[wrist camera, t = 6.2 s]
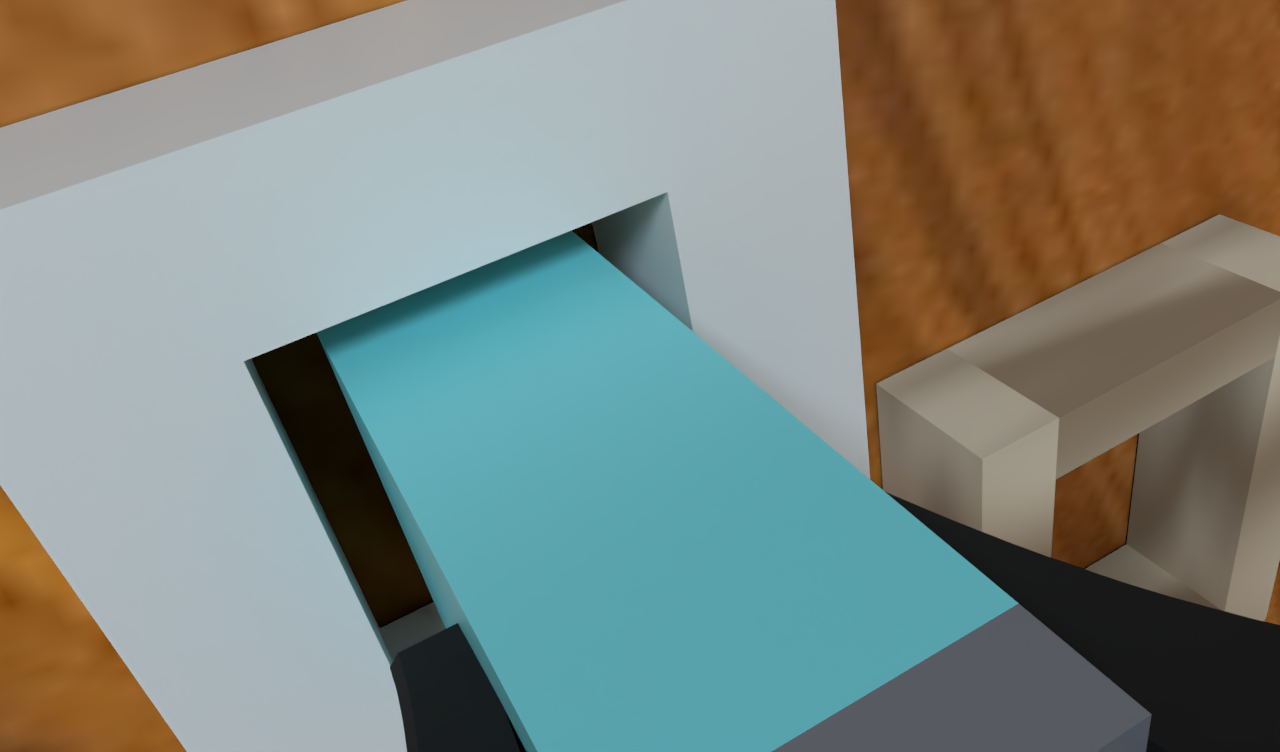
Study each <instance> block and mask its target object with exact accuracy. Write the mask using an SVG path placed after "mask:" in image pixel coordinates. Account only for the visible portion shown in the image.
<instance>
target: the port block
mask: <svg viewBox="0 0 1280 752" xmlns="http://www.w3.org/2000/svg"><path fill="white" fill-rule="evenodd" d="M591 222H592V225H593V230H594V234H595V238H596V243H597V247H598V251H599V254H600V255H602V256H603V257H604V258H605V259H606V260H608V261H609V262H610V263H611V264H612V265H614V266H615V267H616V268H617V269H618V270H620V271H621V272H622V273H623V274H624V275H626V276H627V277H628V278H629V279H630V280H632V281H633V282H634V283H635V284H636V285H638V286H639V287H640V288H641V289H642V290H644V291H645V292H646V293H647V294H648V295H650V296H651V297H652V298H653V299H654V300H656V301H657V302H658V303H659V304H660V305H662V306H663V307H664V308H665V309H666V310H667V311H669V312H670V313H671V314H672V315H673V316H675V317H676V318H677V319H678V320H679V321H681V322H682V323H683V324H684V325H685V326H687V327H688V328H689V329H690V330H691V331H693V332H694V333H695V334H696V335H697V336H699V337H700V338H701V339H702V340H703V341H705V342H706V343H707V344H708V345H709V346H711V347H712V348H713V349H714V350H715V351H717V352H718V353H719V354H720V355H721V356H723V357H724V358H725V359H726V360H727V361H729V362H730V363H731V364H732V365H733V366H735V367H736V368H737V369H738V370H739V371H741V372H742V373H743V374H744V375H745V376H747V377H748V378H749V379H750V380H751V381H753V382H754V383H755V384H756V385H757V386H759V387H760V388H761V389H762V390H763V391H765V392H766V393H767V394H768V395H769V396H771V397H772V398H773V399H774V400H775V401H777V402H778V403H779V404H780V405H781V406H783V407H784V408H785V409H786V410H787V411H789V412H790V413H791V414H792V415H793V416H795V417H796V418H797V419H798V420H799V421H801V422H802V423H803V424H804V425H805V426H807V427H808V428H809V429H810V430H811V431H813V432H814V433H815V434H816V435H817V436H819V437H820V438H821V439H822V440H823V441H825V442H826V443H827V444H828V445H829V446H831V447H832V448H833V449H834V450H835V451H837V452H838V453H839V454H840V455H841V456H843V457H844V458H845V459H846V460H847V461H849V462H850V463H851V464H852V465H853V466H854V467H856V468H857V469H858V470H859V471H860V472H862V473H863V474H864V475H865V476H866V477H868V478H869V479H870V468H869V454H868V441H867V427H866V413H865V400H864V386H863V372H862V359H861V345H860V331H859V318H858V304H857V291H856V277H855V263H854V250H853V236H852V222H851V209H850V195H849V181H848V168H847V154H846V141H845V127H844V113H843V100H842V86H841V72H840V59H839V45H838V31H837V18H836V4H835V0H407V1H403V2H400V3H397V4H394V5H391V6H388V7H384V8H381V9H378V10H375V11H372V12H368V13H365V14H362V15H359V16H356V17H352V18H349V19H346V20H343V21H340V22H336V23H333V24H330V25H327V26H324V27H320V28H317V29H314V30H311V31H308V32H305V33H301V34H298V35H295V36H292V37H289V38H285V39H282V40H279V41H276V42H273V43H269V44H266V45H263V46H260V47H257V48H253V49H250V50H247V51H244V52H241V53H238V54H234V55H231V56H228V57H225V58H222V59H218V60H215V61H212V62H209V63H206V64H202V65H199V66H196V67H193V68H190V69H186V70H183V71H180V72H177V73H174V74H171V75H167V76H164V77H161V78H158V79H155V80H151V81H148V82H145V83H142V84H139V85H135V86H132V87H129V88H126V89H123V90H119V91H116V92H113V93H110V94H107V95H103V96H100V97H97V98H94V99H91V100H88V101H84V102H81V103H78V104H75V105H72V106H68V107H65V108H62V109H59V110H56V111H52V112H49V113H46V114H43V115H40V116H36V117H33V118H30V119H27V120H24V121H21V122H17V123H14V124H11V125H8V126H5V127H1V128H0V485H1V487H2V488H3V490H4V491H5V492H6V494H7V495H8V497H9V498H10V500H11V501H12V502H13V504H14V505H15V507H16V508H17V510H18V511H19V512H20V514H21V515H22V517H23V518H24V520H25V521H26V522H27V524H28V525H29V527H30V528H31V530H32V531H33V532H34V534H35V535H36V537H37V538H38V540H39V541H40V543H41V544H42V545H43V547H44V548H45V550H46V551H47V553H48V554H49V555H50V557H51V558H52V560H53V561H54V563H55V564H56V565H57V567H58V568H59V570H60V571H61V573H62V574H63V575H64V577H65V578H66V580H67V581H68V583H69V584H70V585H71V587H72V588H73V590H74V591H75V593H76V594H77V595H78V597H79V598H80V600H81V601H82V603H83V604H84V605H85V607H86V608H87V610H88V611H89V613H90V614H91V615H92V617H93V618H94V620H95V621H96V623H97V624H98V625H99V627H100V628H101V630H102V631H103V633H104V634H105V635H106V637H107V638H108V640H109V641H110V643H111V644H112V645H113V647H114V648H115V650H116V651H117V653H118V654H119V655H120V657H121V658H122V660H123V661H124V663H125V664H126V665H127V667H128V668H129V670H130V671H131V673H132V674H133V675H134V677H135V678H136V680H137V681H138V683H139V684H140V685H141V687H142V688H143V690H144V691H145V693H146V694H147V695H148V697H149V698H150V700H151V701H152V703H153V704H154V705H155V707H156V708H157V710H158V711H159V713H160V714H161V715H162V717H163V718H164V720H165V721H166V723H167V724H168V725H169V727H170V728H171V730H172V731H173V733H174V734H175V735H176V737H177V738H178V740H179V741H180V743H181V744H182V745H183V747H184V748H185V750H186V751H187V752H407V747H406V740H405V732H404V726H403V720H402V714H401V709H400V704H399V699H398V694H397V690H396V686H395V683H394V680H393V677H392V673H391V670H390V666H391V664H392V662H393V661H394V659H395V657H396V655H397V653H399V652H401V651H403V650H405V649H407V648H409V647H411V646H413V645H415V644H417V643H419V642H421V641H423V640H425V639H426V638H428V637H430V636H432V635H434V634H436V633H438V632H440V631H442V630H444V629H446V627H445V625H444V623H443V621H442V619H441V617H440V615H439V613H438V610H437V608H436V606H435V603H434V602H432V603H430V604H428V605H426V606H424V607H422V608H420V609H418V610H416V611H414V612H412V613H410V614H408V615H406V616H404V617H402V618H400V619H398V620H396V621H394V622H392V623H390V624H388V625H386V626H384V627H382V628H379V626H378V624H377V622H376V620H375V617H374V615H373V613H372V611H371V609H370V607H369V605H368V603H367V601H366V599H365V596H364V594H363V592H362V590H361V588H360V586H359V584H358V582H357V580H356V578H355V575H354V573H353V571H352V569H351V567H350V565H349V563H348V561H347V559H346V557H345V554H344V552H343V550H342V548H341V546H340V544H339V542H338V540H337V538H336V536H335V533H334V531H333V529H332V527H331V525H330V523H329V521H328V519H327V517H326V514H325V512H324V510H323V508H322V506H321V504H320V502H319V500H318V498H317V496H316V493H315V491H314V489H313V487H312V485H311V483H310V481H309V479H308V477H307V475H306V472H305V470H304V468H303V466H302V464H301V462H300V460H299V458H298V456H297V454H296V451H295V449H294V447H293V445H292V443H291V441H290V439H289V437H288V435H287V432H286V430H285V428H284V426H283V424H282V422H281V420H280V418H279V416H278V414H277V411H276V409H275V407H274V405H273V403H272V401H271V399H270V397H269V395H268V393H267V390H266V388H265V386H264V384H263V382H262V380H261V378H260V376H259V374H258V372H257V369H256V367H255V365H254V363H253V361H252V359H251V358H254V357H256V356H259V355H261V354H264V353H266V352H269V351H271V350H274V349H276V348H279V347H281V346H284V345H286V344H289V343H291V342H294V341H296V340H299V339H301V338H304V337H306V336H309V335H311V334H314V333H316V332H319V331H321V330H324V329H326V328H329V327H331V326H334V325H336V324H339V323H341V322H344V321H346V320H349V319H351V318H354V317H356V316H359V315H361V314H364V313H366V312H369V311H371V310H374V309H376V308H379V307H381V306H384V305H386V304H389V303H391V302H394V301H396V300H399V299H401V298H404V297H406V296H409V295H411V294H414V293H416V292H419V291H421V290H424V289H426V288H429V287H431V286H434V285H436V284H439V283H441V282H444V281H446V280H449V279H451V278H454V277H456V276H459V275H461V274H464V273H466V272H469V271H471V270H474V269H476V268H479V267H481V266H484V265H486V264H489V263H491V262H494V261H496V260H499V259H501V258H504V257H506V256H509V255H511V254H514V253H516V252H519V251H521V250H524V249H526V248H529V247H531V246H534V245H536V244H539V243H541V242H544V241H546V240H549V239H551V238H554V237H556V236H559V235H561V234H564V233H566V232H569V231H571V230H574V229H576V228H579V227H581V226H584V225H586V224H589V223H591Z"/></svg>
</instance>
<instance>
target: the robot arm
mask: <svg viewBox="0 0 1280 752" xmlns="http://www.w3.org/2000/svg"><path fill="white" fill-rule="evenodd" d="M884 492H885V491H884ZM886 493H887V492H886ZM887 494H888V495H889V496H890V497H892V498H893V499H894V500H895V501H896V502H898V503H899V504H900V505H901V506H902V507H904V508H905V509H906V510H907V511H908V512H910V513H911V514H912V515H913V516H914V517H916V518H917V519H918V520H919V521H920V522H922V523H923V524H924V525H925V526H926V527H928V528H929V529H930V530H931V531H932V532H934V533H935V534H936V535H937V536H938V537H940V538H941V539H942V540H943V541H944V542H946V543H947V544H948V545H949V546H950V547H952V548H953V549H954V550H955V551H956V552H958V553H959V554H960V555H961V556H962V557H964V558H965V559H966V560H967V561H968V562H970V563H971V564H972V565H973V566H974V567H976V568H977V569H978V570H979V571H980V572H982V573H983V574H984V575H985V576H986V577H988V578H989V579H990V580H991V581H992V582H994V583H995V584H996V585H997V586H998V587H1000V588H1001V589H1002V590H1003V591H1004V592H1006V593H1007V594H1008V595H1009V596H1010V597H1012V598H1013V599H1014V600H1015V601H1016V602H1018V603H1019V604H1020V605H1021V606H1022V607H1024V608H1025V609H1026V610H1027V611H1028V612H1030V613H1031V614H1032V615H1033V616H1034V617H1035V618H1037V619H1038V620H1039V621H1040V622H1041V623H1043V624H1044V625H1045V626H1046V627H1047V628H1049V629H1050V630H1051V631H1052V632H1053V633H1055V634H1056V635H1057V636H1058V637H1059V638H1061V639H1062V640H1063V641H1064V642H1065V643H1067V644H1068V645H1069V646H1070V647H1071V648H1073V649H1074V650H1075V651H1076V652H1077V653H1079V654H1080V655H1081V656H1082V657H1083V658H1085V659H1086V660H1087V661H1088V662H1089V663H1091V664H1092V665H1093V666H1094V667H1095V668H1097V669H1098V670H1099V671H1100V672H1101V673H1103V674H1104V675H1105V676H1106V677H1107V678H1109V679H1110V680H1111V681H1112V682H1113V683H1115V684H1116V685H1117V686H1118V687H1119V688H1121V689H1122V690H1123V691H1124V692H1125V693H1127V694H1128V695H1129V696H1130V697H1131V698H1133V699H1134V700H1135V701H1136V702H1137V703H1139V704H1140V705H1141V706H1142V707H1143V708H1145V709H1146V710H1147V711H1148V712H1149V713H1151V714H1152V715H1151V721H1150V728H1149V735H1148V742H1147V748H1146V752H1280V625H1276V624H1272V623H1268V622H1264V621H1260V620H1256V619H1252V618H1248V617H1244V616H1240V615H1237V614H1233V613H1229V612H1226V611H1222V610H1218V609H1215V608H1211V607H1207V606H1204V605H1200V604H1196V603H1192V602H1189V601H1185V600H1181V599H1178V598H1174V597H1170V596H1167V595H1163V594H1160V593H1157V592H1154V591H1150V590H1147V589H1144V588H1140V587H1137V586H1134V585H1131V584H1127V583H1124V582H1121V581H1118V580H1115V579H1112V578H1109V577H1106V576H1103V575H1100V574H1097V573H1094V572H1092V571H1089V570H1086V569H1083V568H1080V567H1077V566H1074V565H1071V564H1068V563H1065V562H1062V561H1059V560H1056V559H1053V558H1050V557H1048V556H1045V555H1042V554H1039V553H1037V552H1034V551H1031V550H1029V549H1026V548H1023V547H1020V546H1018V545H1015V544H1012V543H1010V542H1007V541H1005V540H1002V539H999V538H997V537H994V536H992V535H989V534H987V533H984V532H982V531H979V530H977V529H974V528H971V527H969V526H966V525H964V524H961V523H959V522H956V521H954V520H951V519H949V518H947V517H944V516H942V515H939V514H937V513H934V512H932V511H930V510H927V509H925V508H922V507H920V506H918V505H915V504H913V503H911V502H908V501H906V500H904V499H901V498H899V497H897V496H894V495H892V494H890V493H887ZM390 670H391V673H392V677H393V680H394V683H395V686H396V690H397V694H398V699H399V704H400V709H401V714H402V720H403V726H404V732H405V740H406V747H407V752H521V749H520V747H519V744H518V742H517V739H516V737H515V734H514V732H513V730H512V727H511V725H510V722H509V720H508V717H507V715H506V712H505V710H504V707H503V705H502V703H501V701H500V699H499V698H498V696H497V694H496V692H495V690H494V688H493V686H492V685H491V683H490V681H489V679H488V677H487V675H486V673H485V672H484V670H483V668H482V666H481V664H480V662H479V661H478V659H477V657H476V655H475V653H474V651H473V649H472V648H471V646H470V644H469V642H468V640H467V639H466V637H465V635H464V633H463V631H462V630H461V628H460V626H459V624H458V623H456V624H454V625H452V626H450V627H448V628H446V629H444V630H442V631H440V632H438V633H436V634H434V635H432V636H430V637H428V638H426V639H425V640H423V641H421V642H419V643H417V644H415V645H413V646H411V647H409V648H407V649H405V650H403V651H401V652H399V653H397V655H396V657H395V659H394V661H393V662H392V664H391V666H390Z"/></svg>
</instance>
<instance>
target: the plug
mask: <svg viewBox="0 0 1280 752" xmlns="http://www.w3.org/2000/svg"><path fill="white" fill-rule="evenodd" d="M316 333H317V335H318V337H319V340H320V342H321V344H322V346H323V349H324V351H325V353H326V356H327V358H328V360H329V363H330V365H331V367H332V369H333V372H334V374H335V376H336V379H337V381H338V383H339V385H340V388H341V390H342V392H343V395H344V397H345V399H346V402H347V404H348V406H349V408H350V411H351V413H352V415H353V418H354V420H355V422H356V424H357V427H358V429H359V431H360V434H361V436H362V438H363V441H364V443H365V445H366V447H367V450H368V452H369V454H370V457H371V459H372V461H373V463H374V466H375V468H376V470H377V473H378V475H379V477H380V480H381V482H382V484H383V486H384V489H385V491H386V493H387V496H388V498H389V500H390V502H391V505H392V507H393V509H394V512H395V514H396V516H397V519H398V521H399V523H400V525H401V528H402V530H403V532H404V535H405V537H406V539H407V541H408V544H409V546H410V548H411V551H412V553H413V555H414V558H415V560H416V562H417V564H418V567H419V569H420V571H421V574H422V576H423V578H424V580H425V583H426V585H427V587H428V590H429V592H430V594H431V597H432V599H433V601H434V603H435V606H436V608H437V610H438V613H439V615H440V617H441V619H442V621H443V623H444V625H445V627H446V628H448V627H450V626H452V625H454V624H456V623H458V624H459V626H460V628H461V630H462V631H463V633H464V635H465V637H466V639H467V640H468V642H469V644H470V646H471V648H472V649H473V651H474V653H475V655H476V657H477V659H478V661H479V662H480V664H481V666H482V668H483V670H484V672H485V673H486V675H487V677H488V679H489V681H490V683H491V685H492V686H493V688H494V690H495V692H496V694H497V696H498V698H499V699H500V701H501V703H502V705H503V707H504V710H505V712H506V715H507V717H508V720H509V722H510V725H511V727H512V730H513V732H514V734H515V737H516V739H517V742H518V744H519V747H520V749H521V752H1146V748H1147V742H1148V735H1149V728H1150V721H1151V715H1152V714H1151V713H1149V712H1148V711H1147V710H1146V709H1145V708H1143V707H1142V706H1141V705H1140V704H1139V703H1137V702H1136V701H1135V700H1134V699H1133V698H1131V697H1130V696H1129V695H1128V694H1127V693H1125V692H1124V691H1123V690H1122V689H1121V688H1119V687H1118V686H1117V685H1116V684H1115V683H1113V682H1112V681H1111V680H1110V679H1109V678H1107V677H1106V676H1105V675H1104V674H1103V673H1101V672H1100V671H1099V670H1098V669H1097V668H1095V667H1094V666H1093V665H1092V664H1091V663H1089V662H1088V661H1087V660H1086V659H1085V658H1083V657H1082V656H1081V655H1080V654H1079V653H1077V652H1076V651H1075V650H1074V649H1073V648H1071V647H1070V646H1069V645H1068V644H1067V643H1065V642H1064V641H1063V640H1062V639H1061V638H1059V637H1058V636H1057V635H1056V634H1055V633H1053V632H1052V631H1051V630H1050V629H1049V628H1047V627H1046V626H1045V625H1044V624H1043V623H1041V622H1040V621H1039V620H1038V619H1037V618H1035V617H1034V616H1033V615H1032V614H1031V613H1030V612H1028V611H1027V610H1026V609H1025V608H1024V607H1022V606H1021V605H1020V604H1019V603H1018V602H1016V601H1015V600H1014V599H1013V598H1012V597H1010V596H1009V595H1008V594H1007V593H1006V592H1004V591H1003V590H1002V589H1001V588H1000V587H998V586H997V585H996V584H995V583H994V582H992V581H991V580H990V579H989V578H988V577H986V576H985V575H984V574H983V573H982V572H980V571H979V570H978V569H977V568H976V567H974V566H973V565H972V564H971V563H970V562H968V561H967V560H966V559H965V558H964V557H962V556H961V555H960V554H959V553H958V552H956V551H955V550H954V549H953V548H952V547H950V546H949V545H948V544H947V543H946V542H944V541H943V540H942V539H941V538H940V537H938V536H937V535H936V534H935V533H934V532H932V531H931V530H930V529H929V528H928V527H926V526H925V525H924V524H923V523H922V522H920V521H919V520H918V519H917V518H916V517H914V516H913V515H912V514H911V513H910V512H908V511H907V510H906V509H905V508H904V507H902V506H901V505H900V504H899V503H898V502H896V501H895V500H894V499H893V498H892V497H890V496H889V495H888V494H887V493H886V492H884V491H883V490H882V489H881V488H880V487H878V486H877V485H876V484H875V483H874V482H872V481H871V480H870V479H869V478H868V477H866V476H865V475H864V474H863V473H862V472H860V471H859V470H858V469H857V468H856V467H854V466H853V465H852V464H851V463H850V462H849V461H847V460H846V459H845V458H844V457H843V456H841V455H840V454H839V453H838V452H837V451H835V450H834V449H833V448H832V447H831V446H829V445H828V444H827V443H826V442H825V441H823V440H822V439H821V438H820V437H819V436H817V435H816V434H815V433H814V432H813V431H811V430H810V429H809V428H808V427H807V426H805V425H804V424H803V423H802V422H801V421H799V420H798V419H797V418H796V417H795V416H793V415H792V414H791V413H790V412H789V411H787V410H786V409H785V408H784V407H783V406H781V405H780V404H779V403H778V402H777V401H775V400H774V399H773V398H772V397H771V396H769V395H768V394H767V393H766V392H765V391H763V390H762V389H761V388H760V387H759V386H757V385H756V384H755V383H754V382H753V381H751V380H750V379H749V378H748V377H747V376H745V375H744V374H743V373H742V372H741V371H739V370H738V369H737V368H736V367H735V366H733V365H732V364H731V363H730V362H729V361H727V360H726V359H725V358H724V357H723V356H721V355H720V354H719V353H718V352H717V351H715V350H714V349H713V348H712V347H711V346H709V345H708V344H707V343H706V342H705V341H703V340H702V339H701V338H700V337H699V336H697V335H696V334H695V333H694V332H693V331H691V330H690V329H689V328H688V327H687V326H685V325H684V324H683V323H682V322H681V321H679V320H678V319H677V318H676V317H675V316H673V315H672V314H671V313H670V312H669V311H667V310H666V309H665V308H664V307H663V306H662V305H660V304H659V303H658V302H657V301H656V300H654V299H653V298H652V297H651V296H650V295H648V294H647V293H646V292H645V291H644V290H642V289H641V288H640V287H639V286H638V285H636V284H635V283H634V282H633V281H632V280H630V279H629V278H628V277H627V276H626V275H624V274H623V273H622V272H621V271H620V270H618V269H617V268H616V267H615V266H614V265H612V264H611V263H610V262H609V261H608V260H606V259H605V258H604V257H603V256H602V255H600V254H599V253H598V252H597V251H596V250H594V249H593V248H592V247H591V246H590V245H588V244H587V243H586V242H585V241H584V240H582V239H581V238H580V237H579V236H578V235H576V234H575V233H574V232H573V231H572V230H571V231H569V232H566V233H564V234H561V235H559V236H556V237H554V238H551V239H549V240H546V241H544V242H541V243H539V244H536V245H534V246H531V247H529V248H526V249H524V250H521V251H519V252H516V253H514V254H511V255H509V256H506V257H504V258H501V259H499V260H496V261H494V262H491V263H489V264H486V265H484V266H481V267H479V268H476V269H474V270H471V271H469V272H466V273H464V274H461V275H459V276H456V277H454V278H451V279H449V280H446V281H444V282H441V283H439V284H436V285H434V286H431V287H429V288H426V289H424V290H421V291H419V292H416V293H414V294H411V295H409V296H406V297H404V298H401V299H399V300H396V301H394V302H391V303H389V304H386V305H384V306H381V307H379V308H376V309H374V310H371V311H369V312H366V313H364V314H361V315H359V316H356V317H354V318H351V319H349V320H346V321H344V322H341V323H339V324H336V325H334V326H331V327H329V328H326V329H324V330H321V331H319V332H316Z"/></svg>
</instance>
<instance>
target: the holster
mask: <svg viewBox="0 0 1280 752" xmlns="http://www.w3.org/2000/svg"><path fill="white" fill-rule="evenodd" d="M876 390H877V405H878V421H879V436H880V451H881V467H882V482H883V491H885V492H887V493H890V494H892V495H894V496H897V497H899V498H901V499H904V500H906V501H908V502H911V503H913V504H915V505H918V506H920V507H922V508H925V509H927V510H930V511H932V512H934V513H937V514H939V515H942V516H944V517H947V518H949V519H951V520H954V521H956V522H959V523H961V524H964V525H966V526H969V527H971V528H974V529H977V530H979V531H982V532H984V533H987V534H989V535H992V536H994V537H997V538H999V539H1002V540H1005V541H1007V542H1010V543H1012V544H1015V545H1018V546H1020V547H1023V548H1026V549H1029V550H1031V551H1034V552H1037V553H1039V554H1042V555H1045V556H1048V557H1050V558H1051V549H1052V532H1053V515H1054V498H1055V481H1056V479H1058V478H1059V477H1061V476H1063V475H1065V474H1067V473H1068V472H1070V471H1072V470H1074V469H1075V468H1077V467H1079V466H1081V465H1083V464H1084V463H1086V462H1088V461H1090V460H1092V459H1093V458H1095V457H1097V456H1099V455H1100V454H1102V453H1104V452H1106V451H1108V450H1109V449H1111V448H1113V447H1115V446H1117V445H1118V444H1120V443H1122V442H1124V441H1125V440H1127V439H1129V438H1131V437H1133V436H1134V435H1136V434H1138V433H1139V440H1138V449H1137V457H1136V466H1135V475H1134V483H1133V492H1132V501H1131V509H1130V518H1129V527H1128V535H1127V544H1126V545H1124V546H1122V547H1121V548H1119V549H1117V550H1116V551H1114V552H1112V553H1111V554H1109V555H1107V556H1106V557H1104V558H1102V559H1101V560H1099V561H1097V562H1096V563H1094V564H1092V565H1091V566H1089V567H1087V568H1086V570H1089V571H1092V572H1094V573H1097V574H1100V575H1103V576H1106V577H1109V578H1112V579H1115V580H1118V581H1121V582H1124V583H1127V584H1131V585H1134V586H1137V587H1140V588H1144V589H1147V590H1150V591H1154V592H1157V593H1160V594H1163V595H1167V596H1170V597H1174V598H1178V599H1181V600H1185V601H1189V602H1192V603H1196V604H1200V605H1204V606H1207V607H1211V608H1215V609H1218V610H1222V611H1226V612H1229V613H1233V614H1237V615H1240V616H1244V617H1248V618H1252V619H1256V620H1260V621H1264V620H1266V616H1267V612H1268V608H1269V603H1270V599H1271V595H1272V590H1273V586H1274V582H1275V578H1276V573H1277V569H1278V565H1279V560H1280V236H1277V235H1274V234H1271V233H1269V232H1266V231H1263V230H1261V229H1258V228H1255V227H1252V226H1250V225H1247V224H1244V223H1241V222H1239V221H1236V220H1233V219H1231V218H1228V217H1225V216H1222V215H1220V214H1219V215H1217V216H1215V217H1213V218H1211V219H1209V220H1207V221H1205V222H1203V223H1201V224H1199V225H1197V226H1195V227H1193V228H1191V229H1189V230H1187V231H1185V232H1183V233H1181V234H1179V235H1177V236H1175V237H1173V238H1171V239H1169V240H1167V241H1164V242H1162V243H1160V244H1158V245H1156V246H1154V247H1152V248H1150V249H1148V250H1146V251H1144V252H1142V253H1140V254H1138V255H1136V256H1134V257H1132V258H1130V259H1128V260H1126V261H1124V262H1122V263H1120V264H1118V265H1116V266H1114V267H1112V268H1110V269H1108V270H1106V271H1104V272H1102V273H1100V274H1098V275H1096V276H1094V277H1091V278H1089V279H1087V280H1085V281H1083V282H1081V283H1079V284H1077V285H1075V286H1073V287H1071V288H1069V289H1067V290H1065V291H1063V292H1061V293H1059V294H1057V295H1055V296H1053V297H1051V298H1049V299H1047V300H1045V301H1043V302H1041V303H1039V304H1037V305H1035V306H1033V307H1031V308H1029V309H1027V310H1025V311H1023V312H1020V313H1018V314H1016V315H1014V316H1012V317H1010V318H1008V319H1006V320H1004V321H1002V322H1000V323H998V324H996V325H994V326H992V327H990V328H988V329H986V330H984V331H982V332H980V333H978V334H976V335H974V336H972V337H970V338H968V339H966V340H964V341H962V342H960V343H958V344H956V345H954V346H952V347H950V348H947V349H945V350H943V351H941V352H939V353H937V354H935V355H933V356H931V357H929V358H927V359H925V360H923V361H921V362H919V363H917V364H915V365H913V366H911V367H909V368H907V369H905V370H903V371H901V372H899V373H897V374H895V375H893V376H891V377H889V378H887V379H885V380H883V381H881V382H879V383H877V384H876Z"/></svg>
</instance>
